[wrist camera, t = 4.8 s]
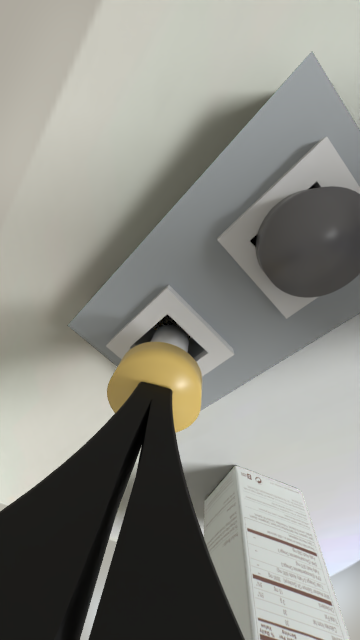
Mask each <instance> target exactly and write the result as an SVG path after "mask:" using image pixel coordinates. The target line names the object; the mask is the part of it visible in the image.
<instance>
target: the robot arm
mask: <svg viewBox="0 0 360 640" xmlns="http://www.w3.org/2000/svg"><path fill="white" fill-rule="evenodd" d="M172 394H173V391H172V390H171V389H170V388H166V387H162V386H158V385H154V384H150V383H146V382H140V383H139V384H138V385H137V387H136V388H135V390H134V391H133V393H132V394H131V395H130V397H129V398H128V399H127V400H126V402H125V403H124V404H123V405H122V406H121V407H120V409H119V410H118V411H117V412H116V413H115V414H114V415H113V416H112V418H111V419H110V420H109V421H108V422H107V423H106V424H105V425H104V426H103V427H102V428H101V429H100V430H99V431H98V432H97V433H96V434H95V435H94V436H93V437H92V438H91V439H90V440H89V441H88V442H87V443H86V444H85V445H84V446H83V447H81V448H80V449H79V450H78V451H77V452H76V453H75V454H74V455H72V456H71V457H70V458H69V459H68V460H67V461H66V462H64V463H63V464H62V465H61V466H60V467H58V468H57V469H56V470H55V471H53V472H52V473H51V474H50V475H49V476H47V477H46V478H45V479H44V480H42V481H41V482H40V483H38V484H37V485H36V486H35V487H33V488H32V489H31V490H29V491H28V492H27V493H25V494H24V495H22V496H21V497H20V498H18V499H17V500H16V501H14V502H13V503H11V504H10V505H9V506H7V507H6V508H4V509H3V510H2V511H0V640H80V636H81V633H82V630H83V626H84V623H85V619H86V616H87V612H88V609H89V605H90V602H91V598H92V595H93V591H94V588H95V584H96V581H97V578H98V574H99V571H100V567H101V564H102V561H103V557H104V554H105V550H106V547H107V543H108V540H109V537H110V533H111V530H112V526H113V523H114V520H115V516H116V514H117V511H118V508H119V505H120V502H121V499H122V497H123V494H124V491H125V488H126V486H127V483H128V480H129V478H130V475H131V472H132V470H133V467H134V464H135V462H136V459H137V456H138V454H139V451H140V448H141V452H140V458H139V463H138V468H137V474H136V478H135V481H134V485H133V488H132V492H131V495H130V499H129V502H128V506H127V509H126V513H125V516H124V520H123V523H122V527H121V530H120V534H119V537H118V541H117V544H116V548H115V551H114V554H113V558H112V561H111V565H110V568H109V572H108V575H107V579H106V582H105V585H104V589H103V592H102V596H101V599H100V603H99V606H98V609H97V613H96V616H95V620H94V623H93V627H92V630H91V634H90V637H89V640H245V638H244V636H243V634H242V632H241V629H240V627H239V625H238V622H237V620H236V618H235V616H234V613H233V611H232V608H231V606H230V604H229V601H228V599H227V597H226V594H225V592H224V589H223V587H222V584H221V582H220V579H219V577H218V574H217V572H216V569H215V567H214V564H213V562H212V559H211V557H210V554H209V551H208V548H207V545H206V542H205V540H204V537H203V534H202V531H201V528H200V526H199V523H198V520H197V517H196V514H195V511H194V508H193V504H192V501H191V498H190V495H189V491H188V488H187V484H186V480H185V477H184V473H183V469H182V464H181V460H180V455H179V451H178V445H177V440H176V434H175V427H174V420H173V408H172ZM141 446H142V447H141Z"/></svg>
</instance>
